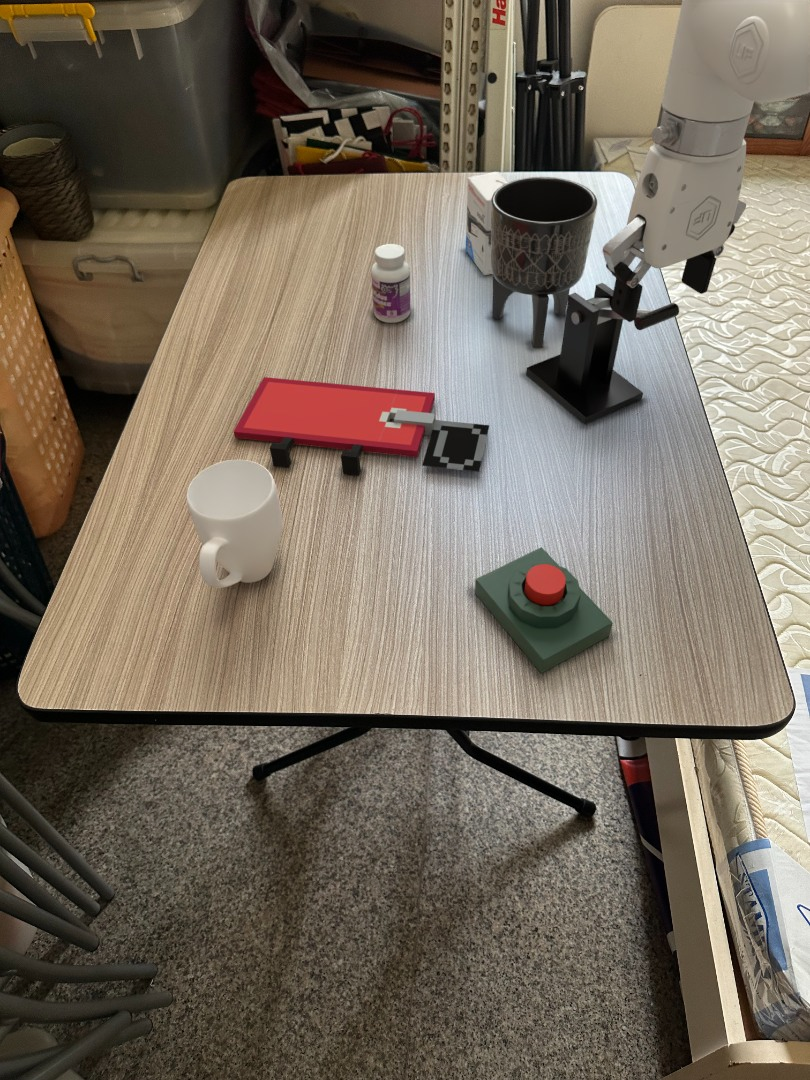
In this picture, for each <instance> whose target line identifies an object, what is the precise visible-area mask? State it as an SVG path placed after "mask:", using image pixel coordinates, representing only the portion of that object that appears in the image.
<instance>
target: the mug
mask: <svg viewBox="0 0 810 1080" xmlns="http://www.w3.org/2000/svg"><path fill="white" fill-rule="evenodd" d="M186 505H187V508H188V512H189V515H190V517H191V521H192V523H193V526H194V529H195V532H196V534H197V537H198V539H199V541H200V543H201V545H202V546H201V548H200V551H199V559H198V565H199V567H198V569H199V573H200V576H201V579H202V580H203V582H204V583H205V584H206V585H207V586H209V587H211V588H217V589H224V588H228V587H231V586H233V585H235V584H238V583H239V582H241V583H245V584H246V583H247V584H248V583H249V584H250V583H256V582H259V581H261V580H264V579H265V578H266V577H267V576H268V575H269V574H270V573H271V571H272V569H273V566H274V563H275V560H276V556H277V553H278V549H279V547H280V543H281V540H282V534H283V513H282V508H281V503H280V498H279V493H278V488H277V485H276V482H275V479H274V477H273V475H272V473H271V472H270V471H269V470H268V469H267V468H266V467H265V466H264V465H262V464H260V463H258V462H256V461H252V460H249V459H248V460H247V459H229V460H228V459H227V460H222V461H220V462H216V463H214V464H211V465H209V466H207V467H205V468H204V469H203V470H201V471H200V472H198V473H197V474H196V475H195V476H194V477H193V479H192V480H191V481H190V483H189V485H188V488H187V490H186ZM216 563H218V564H219V565H220V566H221V567H222V568H223V569H224V570H225V571H226V572H227V573H229V574H228V575H227V576H226V577H224V578H222V579H219V578H218V573H217V569H216Z"/></svg>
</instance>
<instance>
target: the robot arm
mask: <svg viewBox="0 0 810 1080" xmlns="http://www.w3.org/2000/svg"><path fill="white" fill-rule="evenodd" d="M670 55H671V56H670V60H669V65H668V70H667V75H666V79H665V84H664V90H663V94H662V99H661V102H660V103H661V104H660V108H659V113H658V119H657V123H656V127H655V128H653V129H652V132H651V139H652V141H653V144H652V145H651V146H650V147H649V148H648V152H647V153H646V157H645V159H644V162H643V164H642V168H641V171H640V173H639V175H638V180H637V183H636V187H635V190H634V193H633V197H632V201H631V205H630V208H629V213H628V217H627V222H626V226H625V227H624V228H622V229H621V230H620V231H619V232H618V233H616V235H614V236H613V237H612V238H611V239H609V240H608V242H606V243H605V244H604V245H603V247H602V254H603V257H604V261H605V263H606V264H605V268H606V269H607V270H608V272H610V273H611V275H612V276H613V277H615V282H614V285H613V290H614V292H613V297H612V302H611V309H612V310H613V311H614V312H616V313H617V314H618V315H620V316H621V317H623V318H624V319H625V320H624V321H627V322H628V323H631V322H634V320H635V318H636V316H637V311H638V309H639V307H640V306H639V305H640V302H641V297H642V293H643V287H644V286H643V285H642V284H640V282H641V281H642V280H643V278H644V277H645V276H646V274H648V272H649V270H650V268H654V269H663V268H667V267H670V266H673V265H675V264H678V263H681V262H683V261H685V264H684V269H683V272H682V276H681V283H683V285H686V286H687V287H689V288H690V289H692V290H694V291H695V292H696V293H698V294H705V293H707V292H708V289H709V286H710V283H711V279H712V276H713V273H714V269H715V265H716V262H717V257H719V256H721V255H722V254H723V252H724V249H725V246H724V244H725V243H726V242H727V241H728V239H729V238H730V237H731V236H732V234H734V232H735V229H736V226H735V224H738V222H739V220H740V218H741V217H742V215H743V213H744V212H745V210H746V209H747V203H746V202H744V201H742V200H740V199H739V198H740V194H741V189H742V184H743V179H744V174H745V167H746V159H747V158H746V156H747V141H746V140H745V135H746V131H747V128H748V125H749V121H750V117H751V114H752V110H753V107H754V103H760V104H761V103H762V104H769V103H770V104H771V103H776V102H780V101H785V100H788V99H792V98H796V97H800V96H803V95H807V94H810V0H682V1H681V6H680V10H679V16H678V21H677V26H676V31H675V36H674V40H673V45H672V49H671V54H670ZM636 258H638V259H639V260H640V261H639V262H638V264H637V265H636V267H635V268H634V269H633V270H632V269H631V268H630V266H631V264H632V263H633V261H634V260H635V259H636Z"/></svg>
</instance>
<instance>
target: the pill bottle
mask: <svg viewBox="0 0 810 1080" xmlns="http://www.w3.org/2000/svg"><path fill="white" fill-rule="evenodd" d="M405 260H406V255H405V248H404V247H403V246H401V245H399V244H395V243H385V244H382V245H379V246H378V247H376V249H375V251H374V261H375V262H374V263H373V265H372V266H371V270H370V276H371V290H372V291H371V292H372V307H373V314H374V317H375V318H376V319H378V320H379V321H380V322H383V323H387V324H395V323H396V324H397V323H400V322H402V321H404V320H406V319H408V317H409V316H410V314H411V270H410V266H409V264H408V262H406V261H405Z"/></svg>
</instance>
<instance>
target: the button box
mask: <svg viewBox="0 0 810 1080" xmlns="http://www.w3.org/2000/svg"><path fill="white" fill-rule="evenodd" d="M541 564H548V565H552V566H555V567H557V568H558V569H560V570H561V571H562V572H563V574H564V576H565V579H566V583H565V588H564V594H563V597H562V599H561V600H560V601H559V602H557V603H556V604H553V605H549V606H542V605H538V604H536V603H534V602H532V601H531V600H530V599H529V598H528V597H527V595H526V593H525V583H526V576H527V573H528V571H529V570H530V569H531V568H532V567H534V566H537V565H541ZM474 582H475V585H474V594H475V595H476V596H477V597H478V599H479V600H480V601H481V602H482V604H483V605H484V606H485V607H486V608H487V610H488V611H489V612H490V613H491V614H492V616H493V617H494V618H495V619H496V620H497V622H498V623H499V624H500V625H501V627H502V628H503V629H504V630H505V632H506V633H507V634H508V635H509V636H510V637H511V639H512V640H513V641H514V643H516V645H517V646H518V647H519V649H521V651H522V652H523V653H524V655H525V657H527V658H528V659H529V661H530V663H532V664H533V666H534V667H535V668H536V669H537V671H539V673H540V674H543V673H545V672H547V671H548V670H550V669H552V668H554V667H556V666H557V665H559V664H561V663H563V662H565V661H566V660H568V659H570V658H572V657H574V656H575V655H578V654H579V653H581V652H583V651H585V650H587V649H588V648H590V647H592V646H594V645H595V644H597V643H599V642H602V641H603V640H605V639H606V638H608V637H610V635H611V631H612V627H613V624H614V622H613V621H612V620H611V619H610V617H608V616H607V615H606V613H605V612H604V611H603V610H602V609H601V608H600V607H599V606H598V605H597V604H596V603H595V602H594V601H593V600H592V599H591V598H590V596H589V595H588V594H587V593H586V592H585V591H583V589H582V588H581V587H580V584H579V581H578V579H577V578H576V577H575V576H574V575H573V574H572V573H571V572H570V571H569V570H568V569H567V568H566V567H563V566H561V565H559V564H558V563H557V562H556V560H554V559H553V558H552V556H551V555H550V554H549V553H548V552H547V551H546V550H545V549H544V548H543V547H538V548H537V549H535V550H532V551H531V552H528V553H526V554H524V555H522V556H521V557H518V558H516V559H514V560H512V561H509V562H508V563H506V564H504V565H502V566H499V567H498V568H496V569H493V570H492V571H489V572H487V573H486V574H484V575H481V576H480V577H477V578H476V579H475V581H474Z"/></svg>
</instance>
